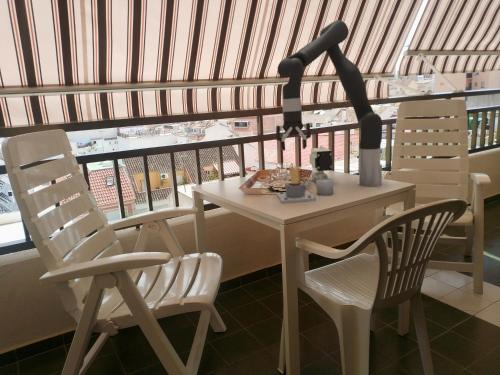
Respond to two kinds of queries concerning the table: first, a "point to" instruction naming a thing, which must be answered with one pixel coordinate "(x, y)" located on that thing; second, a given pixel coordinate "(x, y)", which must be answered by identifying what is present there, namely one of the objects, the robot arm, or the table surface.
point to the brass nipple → (294, 176)
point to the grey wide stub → (324, 187)
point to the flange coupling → (295, 194)
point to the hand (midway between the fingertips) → (293, 149)
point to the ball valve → (320, 162)
